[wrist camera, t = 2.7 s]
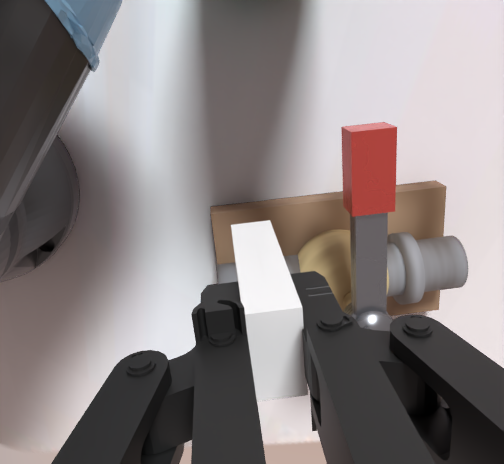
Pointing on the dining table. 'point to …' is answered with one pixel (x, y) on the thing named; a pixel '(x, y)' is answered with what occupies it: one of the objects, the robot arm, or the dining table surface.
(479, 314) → the dining table surface
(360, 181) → the lever
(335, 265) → the valve rig
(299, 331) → the robot arm
